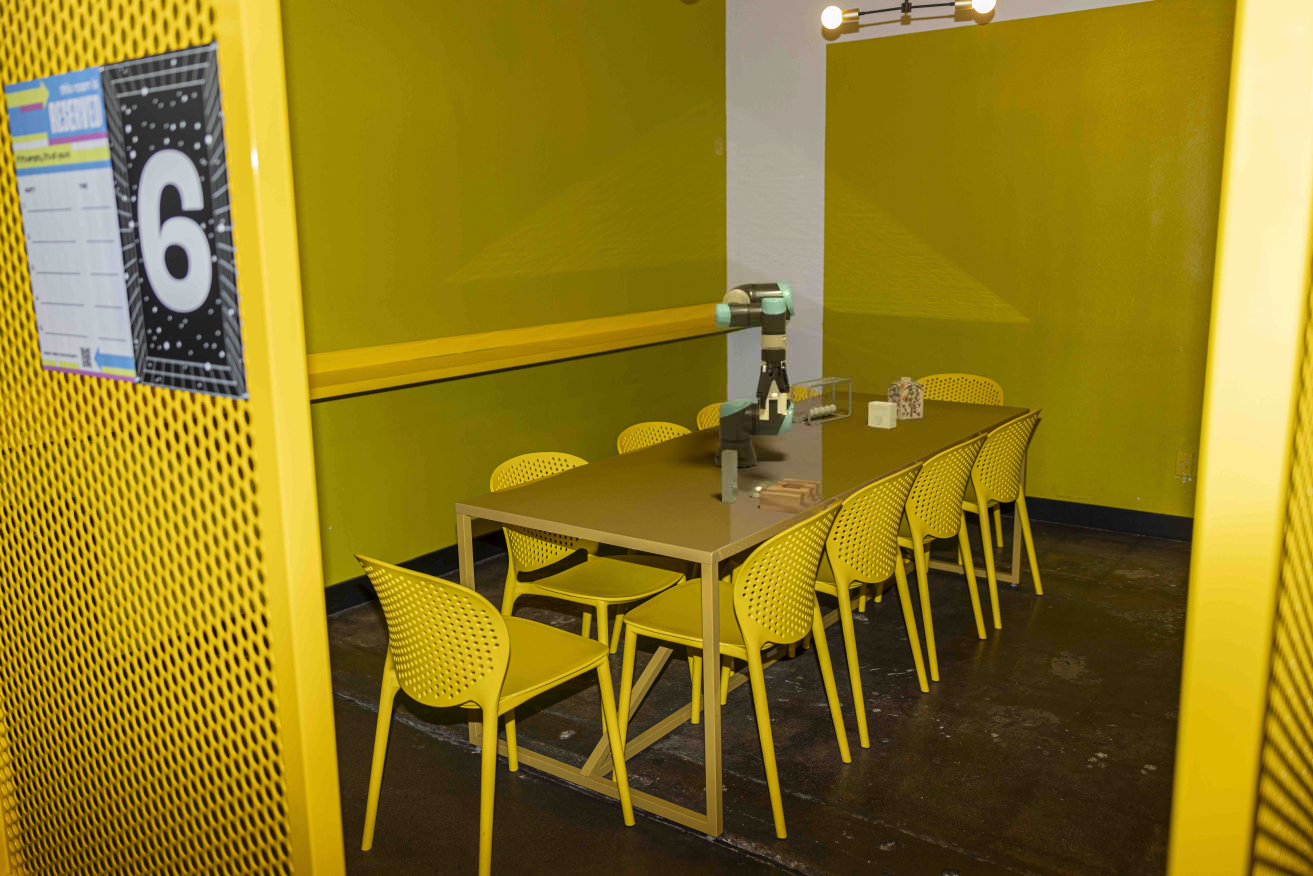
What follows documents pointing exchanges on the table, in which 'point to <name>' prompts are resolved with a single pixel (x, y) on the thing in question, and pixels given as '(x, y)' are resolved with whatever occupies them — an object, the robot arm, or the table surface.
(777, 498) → the holder block
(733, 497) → the square bit
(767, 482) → the round bit
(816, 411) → the newton's cradle
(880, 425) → the skincare box
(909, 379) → the decorative jar
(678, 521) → the table surface
